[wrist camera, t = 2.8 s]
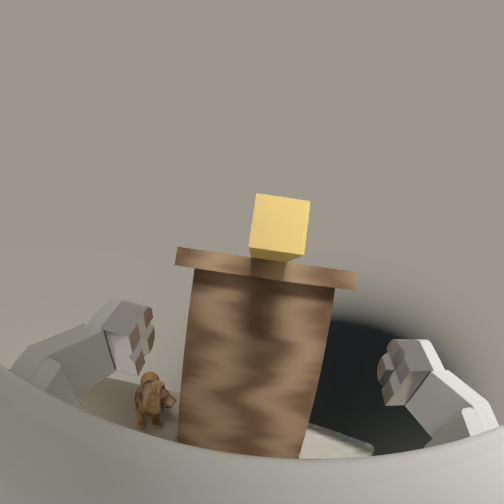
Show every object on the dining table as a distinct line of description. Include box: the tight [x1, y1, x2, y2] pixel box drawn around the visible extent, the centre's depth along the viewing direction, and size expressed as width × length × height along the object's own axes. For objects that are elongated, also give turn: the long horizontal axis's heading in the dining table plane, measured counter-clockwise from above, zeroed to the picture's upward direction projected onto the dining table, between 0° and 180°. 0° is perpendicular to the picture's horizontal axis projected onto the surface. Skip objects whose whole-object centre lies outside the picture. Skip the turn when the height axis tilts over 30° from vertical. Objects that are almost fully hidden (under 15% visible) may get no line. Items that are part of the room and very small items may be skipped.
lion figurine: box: [135, 372, 176, 429], centre depth 37 cm, size 15×5×9 cm, turn 27°
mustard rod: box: [249, 194, 310, 262], centre depth 27 cm, size 3×24×3 cm, turn 179°
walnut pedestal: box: [174, 247, 357, 459], centre depth 30 cm, size 16×14×26 cm
